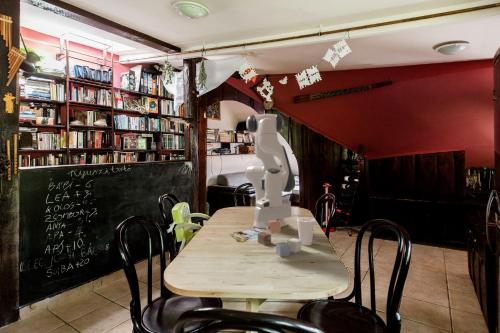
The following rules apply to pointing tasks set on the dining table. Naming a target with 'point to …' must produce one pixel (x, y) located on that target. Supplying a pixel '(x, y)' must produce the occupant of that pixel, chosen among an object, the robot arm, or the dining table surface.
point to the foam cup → (305, 229)
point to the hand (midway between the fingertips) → (273, 228)
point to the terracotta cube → (274, 226)
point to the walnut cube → (264, 238)
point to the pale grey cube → (294, 245)
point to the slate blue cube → (283, 249)
